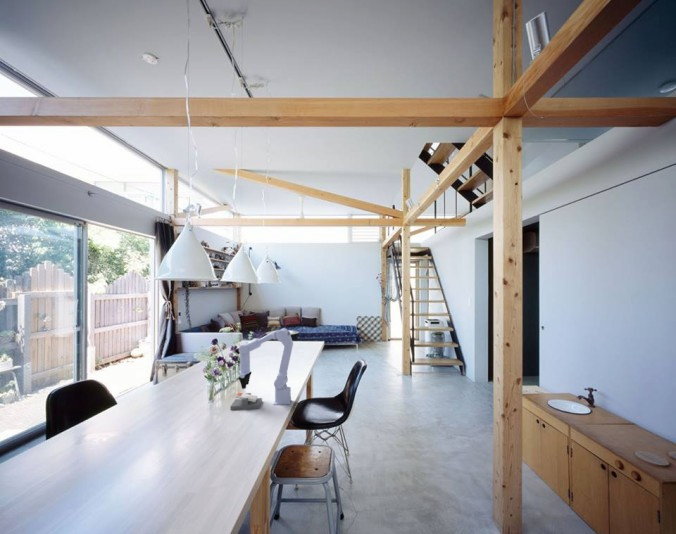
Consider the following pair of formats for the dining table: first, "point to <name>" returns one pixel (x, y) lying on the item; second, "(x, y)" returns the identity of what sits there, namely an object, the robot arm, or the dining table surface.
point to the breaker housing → (245, 404)
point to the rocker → (246, 396)
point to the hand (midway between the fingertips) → (245, 386)
